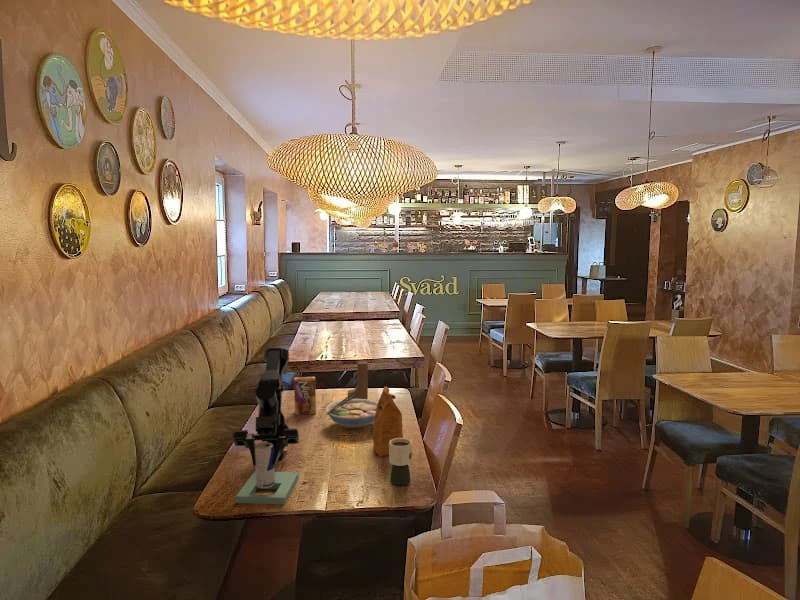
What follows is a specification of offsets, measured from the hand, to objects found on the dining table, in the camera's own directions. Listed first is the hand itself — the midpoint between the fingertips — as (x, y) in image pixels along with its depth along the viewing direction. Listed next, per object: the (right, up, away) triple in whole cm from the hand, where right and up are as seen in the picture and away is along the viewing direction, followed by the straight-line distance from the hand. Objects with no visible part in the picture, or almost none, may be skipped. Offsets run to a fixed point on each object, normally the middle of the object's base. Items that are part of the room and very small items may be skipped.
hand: (264, 465), depth 156 cm
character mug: (+39, -9, +11) cm, 42 cm away
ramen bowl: (+21, -2, +59) cm, 63 cm away
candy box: (-1, 0, +73) cm, 73 cm away
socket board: (0, -9, +5) cm, 11 cm away
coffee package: (+35, -6, +35) cm, 50 cm away
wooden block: (+20, +2, +89) cm, 91 cm away
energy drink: (0, -7, +2) cm, 7 cm away
